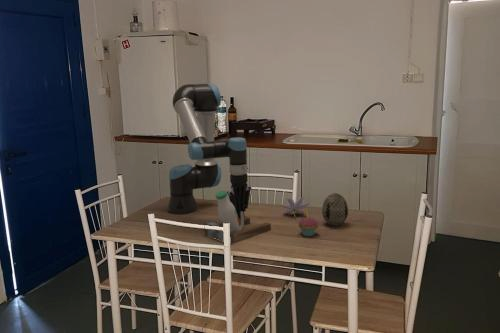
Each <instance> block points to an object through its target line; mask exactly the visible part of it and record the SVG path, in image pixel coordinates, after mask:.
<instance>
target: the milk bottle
mask: <svg viewBox="0 0 500 333" xmlns="http://www.w3.org/2000/svg"><path fill="white" fill-rule="evenodd" d="M215 198H216V200H217V214H218V218H219V220H220V222H221V223H220V224H222V226H223V223H230V229H233V234H234V233H237V232H240V231H243V228H242V227H243V226H241V224H240V221H239V218H238V215H237V212H236V209H235V207H234V205H233V204H232V203H231V202H230V199H229V197H228V194H227V191H225V190H220V191H217V193H215Z"/></svg>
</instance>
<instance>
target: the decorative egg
mask: <svg viewBox="0 0 500 333" xmlns="http://www.w3.org/2000/svg"><path fill="white" fill-rule="evenodd" d="M321 212H322V213H321V214H322V218H323V219H324V221H325V222H326V223H327V224H328V225H330V226H333V227H336V226H337V227H338V226H340V225H343V223H345V221H346V220H347V218H348V214H349V206H348V203H347V201H346V199H345V197H344V196H343V195H342V194H339V193H338V192H337V193H336V192H335V193H334V192H332V193H331V194H329V195H328V196H327V197H326V198H325V199H324V201H323V204H322V207H321Z"/></svg>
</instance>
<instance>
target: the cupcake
mask: <svg viewBox="0 0 500 333" xmlns="http://www.w3.org/2000/svg"><path fill="white" fill-rule="evenodd" d="M305 208H306V209H305V212H306V213H305V214H306V218H305V217H304V218H302V219H301V220H300V221H299V222H298V227H299V229H300V230H301V233H302V236H305V237H312V236H315V232H316V230H317V229H318V228H319V226H320V225H319V222H318V221H317V220H316V219H314V218H310V217H309V211H308V206H306V207H305Z"/></svg>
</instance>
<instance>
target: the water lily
mask: <svg viewBox="0 0 500 333" xmlns="http://www.w3.org/2000/svg"><path fill="white" fill-rule="evenodd" d="M303 199H304V198H303V197H299V199H296V200H294V199H293V198H290V197H288V198H286V201H287V202H285V204H282V203H281V204H280V206H281V207H282V208H285V209H286V210H285V211H284V212H283V213H282V215H288V214H291V213H293V218H294V219H295V220H296V213H297V214H299V215H304V214H305V213H304V211H303V209H304V208H306V207H308V206H309V205H310V203H307V202H305V203H304V202H303ZM301 209H302V210H301Z"/></svg>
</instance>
